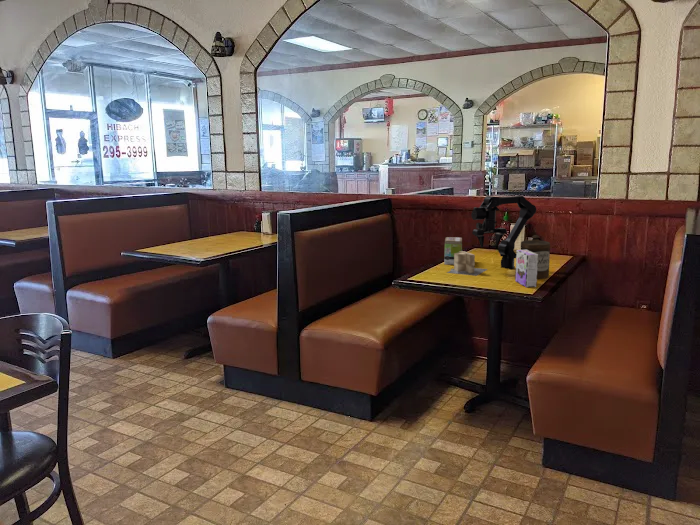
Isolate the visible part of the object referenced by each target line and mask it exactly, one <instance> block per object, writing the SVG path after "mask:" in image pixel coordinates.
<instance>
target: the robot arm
mask: <svg viewBox="0 0 700 525" xmlns="http://www.w3.org/2000/svg"><path fill="white" fill-rule="evenodd" d="M511 204H517V206H518V208H519V213H518V216H519V217H518V219H517V220H516V222H515V223H514V225H513V227H512V229H511V230H510V232H509V234H508V231H507V228H505V227H496V224H497V223H498V221H497V220H496V214H497V213H496V212H499V211H500V208H499V207H498V206H502V205H511ZM536 213H537V207H536V205H534V204H533V203H531V202H530V200H528V199H527V198H526V197H525V196H524V195H515V196H514V195H513V196H511V195H510V196H491V195H487V196H485V197H484V199H483V201H482V202H481V204H480V206H479V207H476V206H475V207H473V210H472V211H471V213H470V214H471V219H472V220H473V221H480V220H481V221H482V220H483V222H476V225H475V229H473V230H472V235H474V236H475V237H476V238H477V240H478V242H479V245H480V248H483V247H484V242H485V234H494V236H495V247H497V251H498V253H499V256H500V257H501V259H500V268H502V269H507V270H513V269H514V268H515V269H516V265H515V259H516V251H514V250H515V248H516V247H515V246H516V245H515V244H516V243H515V242H516V241H517V239H518V238H519V236H520V234H521V232H522V230H523V229H524V227H525V225H526V223H527V222H528V221H529V220H530V219H531V218H533V216H534V215H535V214H536ZM506 234H508V236H507V237H506V239H503V237H504V236H505V235H506Z"/></svg>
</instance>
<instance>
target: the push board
mask: <svg viewBox="0 0 700 525" xmlns="http://www.w3.org/2000/svg"><path fill="white" fill-rule="evenodd" d="M486 271H488V268H481V267H478V268H477V267H474V273H467V271H457V270H454V268H450V270H449V271H447V272H446V274H455V275H466V276H475V277H477V276H479V275H481V274H482V273H484V272H486Z"/></svg>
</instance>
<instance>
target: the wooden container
mask: <svg viewBox="0 0 700 525" xmlns="http://www.w3.org/2000/svg"><path fill="white" fill-rule="evenodd" d="M531 238H532V239H530V240H529V239H527V240H522V241H520V250H529V251H531V252H533V253H535V254H538V267H537V280H543V279H547V278H549V274H550V255H551V254H550V252H551V251H550V250H551V248H550V247H551V243H550V242H551V241H550V242H549V241H546V240H540V239H539V238H540V236H539V235H538V234H533V235H532V236H531Z"/></svg>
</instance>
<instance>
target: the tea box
mask: <svg viewBox="0 0 700 525" xmlns="http://www.w3.org/2000/svg"><path fill="white" fill-rule="evenodd" d="M460 251H463V237H458V236H457V237H456V236H455V237H453V236H452V237H451V236H449V237H448V236H447V237H445V239H444V259H443V260H444V263H443V264H444V265H454V253H459V252H460Z"/></svg>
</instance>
